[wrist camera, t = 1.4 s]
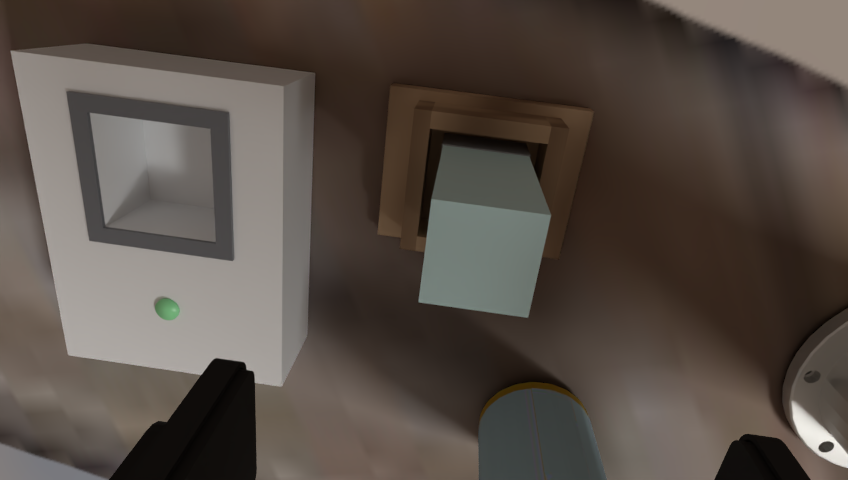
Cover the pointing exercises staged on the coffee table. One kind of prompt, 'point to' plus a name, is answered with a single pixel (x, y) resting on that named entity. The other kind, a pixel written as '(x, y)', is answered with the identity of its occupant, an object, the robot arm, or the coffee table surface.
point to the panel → (173, 204)
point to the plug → (484, 227)
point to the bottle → (537, 436)
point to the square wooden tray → (479, 117)
